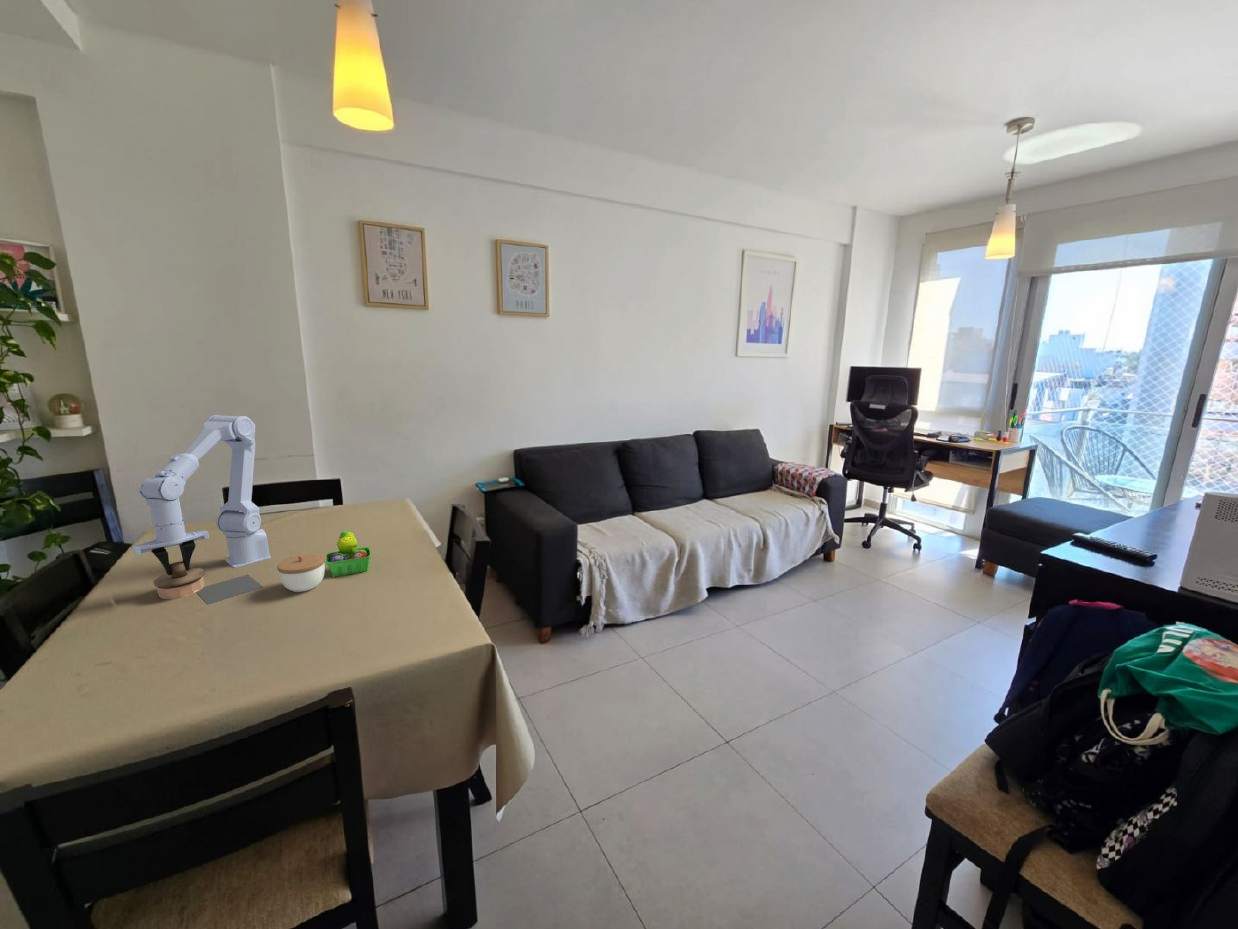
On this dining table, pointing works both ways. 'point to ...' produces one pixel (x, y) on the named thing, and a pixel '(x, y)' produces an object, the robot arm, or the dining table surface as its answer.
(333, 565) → the fruit basket
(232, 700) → the dining table surface
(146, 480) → the robot arm
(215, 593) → the mat
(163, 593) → the bowl
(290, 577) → the lidded jar
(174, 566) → the lid
